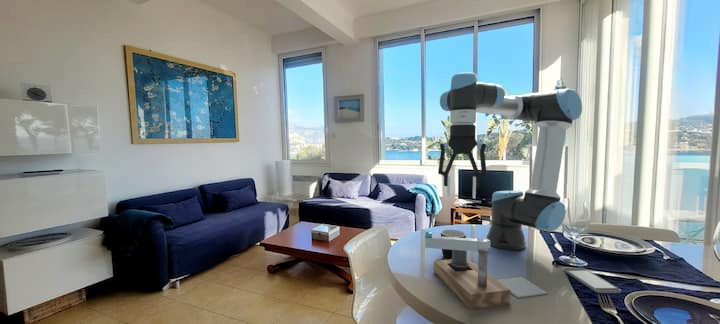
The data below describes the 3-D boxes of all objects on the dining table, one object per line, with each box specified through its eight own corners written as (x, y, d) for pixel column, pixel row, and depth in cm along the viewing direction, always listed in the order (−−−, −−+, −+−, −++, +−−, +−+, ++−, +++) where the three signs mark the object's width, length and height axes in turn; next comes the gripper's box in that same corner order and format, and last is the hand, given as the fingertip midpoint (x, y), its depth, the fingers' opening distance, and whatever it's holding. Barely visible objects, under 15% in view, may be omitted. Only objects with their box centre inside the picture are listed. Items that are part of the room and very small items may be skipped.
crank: (488, 248, 83) (489, 234, 82) (491, 253, 79) (491, 238, 79) (425, 244, 87) (425, 230, 86) (425, 248, 83) (425, 234, 83)
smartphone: (583, 268, 100) (622, 290, 85) (583, 271, 100) (622, 294, 85) (562, 268, 100) (597, 290, 85) (562, 271, 100) (597, 294, 85)
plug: (462, 273, 97) (462, 236, 97) (471, 281, 92) (472, 242, 91) (447, 275, 96) (447, 238, 95) (456, 283, 91) (456, 243, 90)
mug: (469, 263, 105) (469, 236, 104) (445, 264, 105) (445, 237, 104) (456, 251, 117) (457, 226, 116) (435, 251, 117) (435, 227, 116)
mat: (521, 278, 94) (521, 276, 94) (547, 294, 84) (547, 292, 84) (494, 281, 92) (494, 280, 92) (517, 298, 82) (517, 296, 82)
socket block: (465, 268, 101) (466, 230, 100) (510, 303, 80) (511, 255, 79) (434, 272, 99) (434, 233, 98) (470, 308, 77) (472, 259, 76)
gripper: (429, 124, 90) (428, 197, 92) (499, 123, 83) (496, 201, 85) (431, 125, 97) (430, 193, 99) (496, 124, 91) (493, 196, 92)
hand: (461, 196), depth 92 cm, fingers open, 7 cm apart
